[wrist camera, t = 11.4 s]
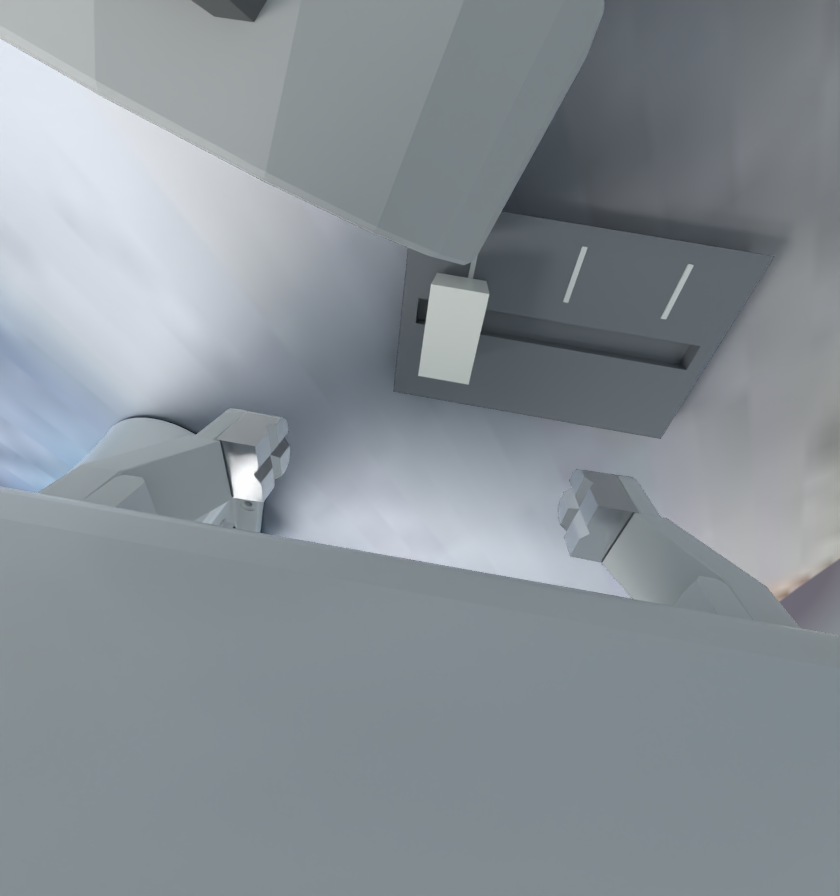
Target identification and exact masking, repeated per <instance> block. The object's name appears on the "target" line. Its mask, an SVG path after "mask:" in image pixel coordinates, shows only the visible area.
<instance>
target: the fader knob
mask: <svg viewBox="0 0 840 896" xmlns="http://www.w3.org/2000/svg"><path fill="white" fill-rule="evenodd" d="M488 298H489V290H488V285H487V281H484V280H478V279H472V278H466V277H460V276H454V275H448V274H442V273H437V274H436V276H435V278H434V280H433V281H432V283H431V288H430V295H429V302H428V309H427V316H426V323H425V330H424V337H423V344H422V351H421V359H420V366H419V373H418V376H422V377H428V378H434V379H439V380H445V381H451V382H456V383H462V384H468V385H469V380H470V376H471V372H472V367H473V363H474V359H475V355H476V350H477V346H478V342H479V337H480V333H481V329H482V324H483V320H484V316H485V311H486V307H487V303H488Z"/></svg>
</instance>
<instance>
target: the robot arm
mask: <svg viewBox="0 0 840 896" xmlns="http://www.w3.org/2000/svg"><path fill="white" fill-rule="evenodd" d="M288 432H289V431H288V423H287V421H286V419H285V418H282V417H277V416H272V415H267V414H261V413H256V412H251V411H250V412H249V411H247V410H240V409H234V408H232V409H227V410H226V411H225V412H224V413H222V414H221V415H220V416H219V417H217V418H216V419H215V420H214V421H212V422H211V423H210V424H209V425H207V426H206V427H205V428H204V429H202V430H201V431H200V432H199V433H197V434H196V435H195V434H194V433H192V432H190V431H188V430H186V429H184V428H182V427H180V426H177V425H175V424H172V423H169V422H166V421H162V420H157V419H152V418H130V419H126V420H123V421H120V422H118V423H117V424H115V425H114V426H113V427H111V429H110V430H109V431H108V432H107V433H106V435H105V436H104V437H103V438H102V440H101V441H100V442H99V443H98V444H97V445H96V446H95V447H94V448H93V449H92V450H91V451H90V452H89V453H88V454H87V455H86V456H85V457H84V458H83V459H82V460H81V461H80V462H78V463H77V464H76V465H75V466H74V467H73V468H72V469H71V470H69V471H68V472H67V473H66V474H65V475H64V476H62V477H61V478H60V479H58V480H57V481H55V482H53V483H52V484H50V485H49V486H47V487H46V488H44V489H43V490H41V491H39V492H38V493H34V492H28V491H22V490H17V489H11V488H6V487H0V896H840V636H839V635H834V634H828V633H822V632H816V631H811V630H805V629H801V628H800V627H799V626H798V625H797V624H796V622H795V621H794V620H793V619H792V617H791V616H790V615H789V614H788V613H787V611H786V610H785V609H784V608H783V607H782V605H781V604H780V603H779V601H778V600H777V599H776V598H775V596H774V595H773V594H772V593H771V591H770V590H769V589H768V588H767V587H766V586H765V585H763V584H762V583H761V582H759V581H758V580H756V579H755V578H753V577H752V576H750V575H749V574H747V573H746V572H745V571H743V570H742V569H740V568H739V567H737V566H736V565H734V564H733V563H731V562H730V561H728V560H727V559H726V558H724V557H723V556H721V555H720V554H718V553H717V552H715V551H714V550H712V549H711V548H709V547H708V546H707V545H705V544H704V543H702V542H701V541H699V540H698V539H696V538H695V537H693V536H692V535H691V534H689V533H688V532H686V531H685V530H683V529H682V528H680V527H679V526H677V525H676V524H674V523H673V522H672V521H670V520H669V519H667V518H661V516H660V515H659V513H658V512H657V510H656V509H655V507H654V506H653V504H652V503H651V501H650V500H649V498H648V497H647V495H646V493H645V492H644V490H643V489H642V487H641V486H640V484H639V483H638V481H637V480H636V479H635V478H633V477H629V476H622V475H615V474H607V473H600V472H593V471H587V470H580V469H576V470H575V471H574V472H573V473H572V475H571V477H570V479H569V482H570V485H571V487H572V488H570V489H568V490H567V491H565V492H563V494H562V497H561V499H560V501H559V507H558V519H559V522H560V525H561V526H562V527H563V528H564V529H565V530H566V531H567V532H566V534H565V536H564V539H565V542H566V545H567V548H568V552H569V555H570V556H571V557H576V558H581V559H586V560H591V561H596V562H601V563H602V565H603V566H604V568H605V569H606V570H607V571H608V572H609V573H610V574H611V575H612V577H613V578H614V579H615V580H616V581H617V582H618V583H619V584H620V586H621V587H622V588H623V589H624V590H625V591H626V592H627V593H628V595H629V596H630V597H631V598H632V599H630V598H625V597H619V596H614V595H608V594H602V593H597V592H591V591H585V590H580V589H574V588H568V587H563V586H557V585H551V584H546V583H540V582H534V581H529V580H523V579H518V578H512V577H506V576H501V575H495V574H489V573H484V572H478V571H472V570H467V569H461V568H455V567H450V566H444V565H439V564H433V563H427V562H422V561H416V560H411V559H405V558H399V557H394V556H388V555H383V554H377V553H372V552H366V551H360V550H355V549H349V548H343V547H338V546H332V545H326V544H321V543H315V542H309V541H304V540H298V539H293V538H287V537H281V536H276V535H270V534H264V533H260V531H261V522H262V513H263V504H264V501H265V499H266V498H267V497H268V495H269V494H270V492H271V491H272V490H273V488H274V487H275V484H274V480H275V479H277V478H279V477H281V476H282V475H283V474H284V472H285V471H286V469H287V466H288V463H289V460H290V445H289V444H288V442H287V441H286V440H285V438H284V437H285V436H286V435H287V433H288Z"/></svg>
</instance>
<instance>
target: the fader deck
mask: <svg viewBox="0 0 840 896" xmlns="http://www.w3.org/2000/svg"><path fill="white" fill-rule="evenodd" d="M773 258H774V256H769V255H763V254H757V253H751V252H745V251H739V250H733V249H727V248H721V247H715V246H709V245H703V244H697V243H691V242H685V241H679V240H672V239H666V238H660V237H654V236H648V235H642V234H636V233H630V232H624V231H618V230H612V229H606V228H600V227H594V226H588V225H581V224H575V223H569V222H563V221H557V220H551V219H545V218H539V217H533V216H527V215H521V214H515V213H509V212H503V211H502V212H501V214H500V215H499V217H498V219H497V221H496V223H495V224H494V226H493V228H492V230H491V232H490V233H489V235H488V237H487V239H486V241H485V243H484V244H483V246H482V248H481V250H480V252H479V253H478V255H477V257H476V259H475V260H474V261H472V262H470V263H468V264H466V265H461V264H457V263H453V262H450V261H446V260H442V259H438V258H435V257H431V256H428V255H425V254H423V253H420V252H418V251H415V250H413V249H411V248H408V254H407V264H406V273H405V283H404V293H403V303H402V313H401V323H400V332H399V342H398V352H397V362H396V372H395V381H394V392H399V393H405V394H411V395H416V396H422V397H428V398H433V399H439V400H445V401H450V402H456V403H462V404H467V405H473V406H478V407H484V408H490V409H495V410H501V411H507V412H512V413H518V414H524V415H529V416H535V417H541V418H546V419H552V420H557V421H563V422H569V423H574V424H580V425H586V426H591V427H597V428H603V429H608V430H614V431H620V432H625V433H631V434H636V435H642V436H648V437H653V438H659V439H661V437H662V436H663V434H664V432H665V431H666V429H667V428H668V426H669V424H670V423H671V421H672V420H673V418H674V416H675V415H676V413H677V412H678V410H679V408H680V407H681V405H682V404H683V402H684V400H685V399H686V397H687V396H688V394H689V392H690V391H691V389H692V388H693V386H694V384H695V383H696V381H697V380H698V378H699V376H700V375H701V373H702V372H703V370H704V368H705V367H706V365H707V364H708V362H709V360H710V359H711V357H712V355H713V354H714V352H715V351H716V349H717V347H718V346H719V344H720V343H721V341H722V339H723V338H724V336H725V335H726V333H727V331H728V330H729V328H730V327H731V325H732V323H733V322H734V320H735V319H736V317H737V315H738V314H739V312H740V311H741V309H742V307H743V306H744V304H745V303H746V301H747V299H748V298H749V296H750V295H751V293H752V291H753V290H754V288H755V287H756V285H757V283H758V282H759V280H760V279H761V277H762V275H763V274H764V272H765V271H766V269H767V267H768V266H769V264H770V262H771V261H772V259H773ZM437 273H442V274H448V275H454V276H460V277H466V278H472V279H478V280H484V281H487V285H488V290H489V298H488V303H487V307H486V311H485V316H484V320H483V324H482V329H481V333H480V337H479V342H478V346H477V350H476V355H475V359H474V363H473V367H472V372H471V376H470V380H469V385H468V384H462V383H456V382H451V381H445V380H439V379H434V378H428V377H422V376H418V373H419V366H420V359H421V351H422V344H423V337H424V330H425V323H426V316H427V309H428V302H429V295H430V288H431V283H432V281H433V280H434V278H435V276H436V274H437Z"/></svg>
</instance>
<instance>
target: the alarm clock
mask: <svg viewBox="0 0 840 896" xmlns="http://www.w3.org/2000/svg"><path fill="white" fill-rule="evenodd" d="M604 7H605V0H0V39H2V40H4V41H5V42H7V43H9V44H11V45H12V46H14V47H16V48H18V49H19V50H21V51H23V52H25V53H26V54H28V55H30V56H32V57H33V58H35V59H37V60H39V61H41V62H42V63H44V64H46V65H48V66H49V67H51V68H53V69H55V70H56V71H58V72H60V73H62V74H63V75H65V76H67V77H69V78H70V79H72V80H74V81H76V82H77V83H79V84H81V85H83V86H84V87H86V88H88V89H90V90H91V91H93V92H95V93H97V94H99V95H100V96H102V97H104V98H106V99H107V100H109V101H111V102H113V103H115V104H117V105H119V106H121V107H123V108H125V109H127V110H128V111H130V112H132V113H134V114H136V115H138V116H140V117H142V118H144V119H146V120H147V121H149V122H151V123H153V124H155V125H157V126H159V127H161V128H163V129H165V130H167V131H168V132H170V133H172V134H174V135H176V136H178V137H180V138H182V139H184V140H186V141H188V142H189V143H191V144H193V145H195V146H197V147H199V148H201V149H203V150H205V151H207V152H208V153H210V154H212V155H214V156H216V157H218V158H220V159H222V160H224V161H226V162H228V163H229V164H231V165H233V166H235V167H237V168H239V169H241V170H243V171H245V172H247V173H249V174H250V175H252V176H254V177H256V178H258V179H260V180H262V181H264V182H266V183H268V184H270V185H272V186H274V187H276V188H279V189H281V190H283V191H285V192H287V193H289V194H291V195H293V196H295V197H297V198H300V199H302V200H304V201H306V202H308V203H310V204H312V205H314V206H316V207H318V208H321V209H323V210H325V211H327V212H329V213H331V214H333V215H335V216H337V217H339V218H341V219H344V220H346V221H348V222H350V223H352V224H354V225H356V226H358V227H360V228H362V229H365V230H367V231H369V232H371V233H374V234H376V235H379V236H381V237H384V238H386V239H388V240H391V241H393V242H396V243H398V244H401V245H403V246H406V247H408V248H411V249H413V250H415V251H418V252H420V253H423V254H425V255H428V256H431V257H435V258H438V259H442V260H446V261H450V262H453V263H457V264H461V265H466V264H468V263H470V262H472V261H474V260H475V259H476V257H477V255H478V253H479V252H480V250H481V248H482V246H483V244H484V243H485V241H486V239H487V237H488V235H489V233H490V232H491V230H492V228H493V226H494V224H495V223H496V221H497V219H498V217H499V215H500V214H501V212H502V210H503V208H504V206H505V204H506V203H507V201H508V199H509V197H510V195H511V194H512V192H513V190H514V188H515V186H516V185H517V183H518V181H519V179H520V177H521V175H522V174H523V172H524V170H525V168H526V166H527V165H528V163H529V161H530V159H531V157H532V156H533V154H534V152H535V150H536V148H537V146H538V145H539V143H540V141H541V139H542V137H543V136H544V134H545V132H546V130H547V128H548V127H549V125H550V123H551V121H552V119H553V117H554V116H555V114H556V112H557V110H558V108H559V107H560V105H561V103H562V101H563V99H564V98H565V96H566V94H567V92H568V90H569V88H570V87H571V85H572V83H573V81H574V79H575V78H576V76H577V74H578V72H579V70H580V69H581V67H582V65H583V63H584V61H585V59H586V58H587V55H588V53H589V50H590V47H591V45H592V42H593V39H594V37H595V34H596V32H597V29H598V26H599V24H600V21H601V18H602V16H603V13H604Z"/></svg>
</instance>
